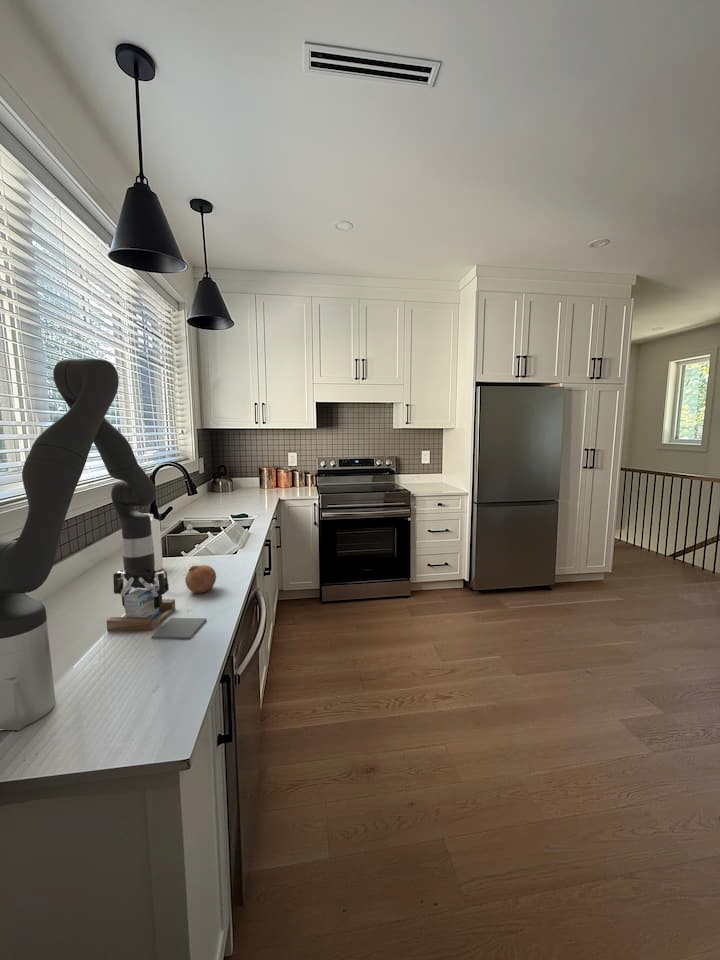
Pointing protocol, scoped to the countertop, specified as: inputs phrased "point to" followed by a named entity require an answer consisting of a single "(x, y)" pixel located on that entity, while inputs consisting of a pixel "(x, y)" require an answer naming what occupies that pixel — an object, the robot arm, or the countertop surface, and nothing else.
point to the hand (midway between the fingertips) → (142, 607)
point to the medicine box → (140, 604)
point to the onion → (200, 578)
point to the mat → (179, 628)
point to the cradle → (140, 620)
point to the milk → (156, 542)
